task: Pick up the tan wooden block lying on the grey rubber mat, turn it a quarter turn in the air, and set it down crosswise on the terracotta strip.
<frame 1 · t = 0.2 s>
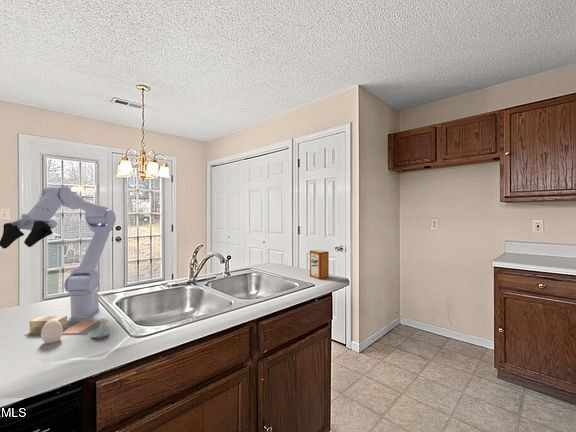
hand: (14, 245, 85), 31 cm above the counter, tool tilted 45°, fingers open, 7 cm apart
pacifier: (98, 339, 93), on the counter
rubber mat: (68, 329, 100), on the counter
tan wooden block: (48, 330, 98), point 1 cm above the counter, touching rubber mat
terracotta strip: (80, 327, 100), resting on rubber mat
egg: (52, 344, 90), on the counter
baking soda box: (319, 277, 173), on the counter
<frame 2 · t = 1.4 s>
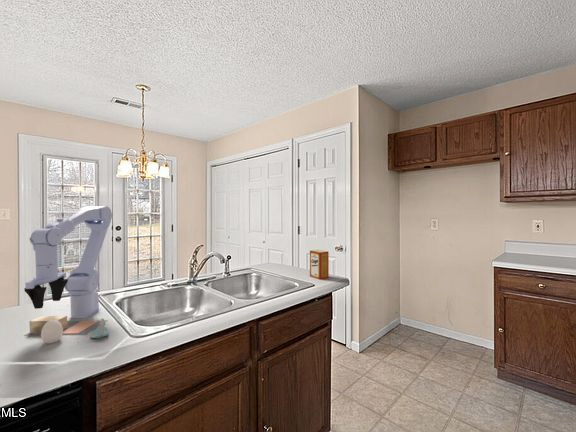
hand: (47, 304, 98), 9 cm above the counter, tool pointing down, fingers open, 7 cm apart
nothing on the counter moved.
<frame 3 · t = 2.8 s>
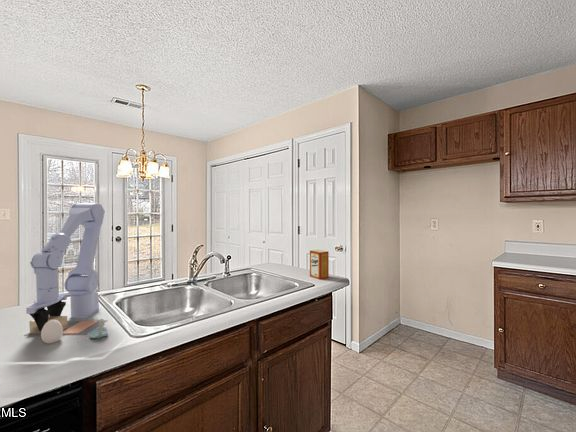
hand: (48, 327, 98), 2 cm above the counter, tool pointing down, fingers closed on tan wooden block, 4 cm apart
tan wooden block: (48, 330, 98), point 1 cm above the counter, touching gripper, rubber mat
everything else where it was.
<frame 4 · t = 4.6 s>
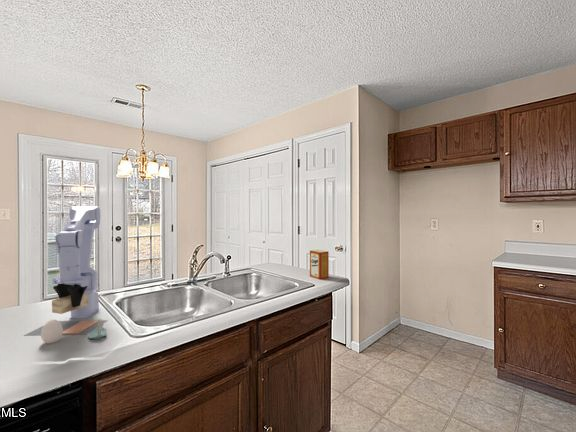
hand: (71, 305, 99), 8 cm above the counter, tool pointing down, fingers closed on tan wooden block, 4 cm apart
tan wooden block: (70, 308, 99), point 7 cm above the counter, touching gripper
everything else where it was.
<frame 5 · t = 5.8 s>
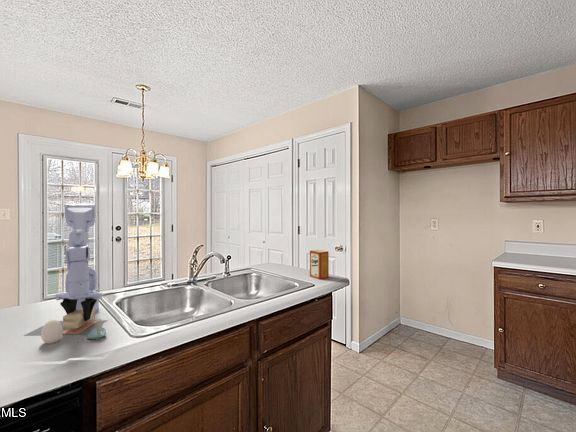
hand: (79, 320, 100), 3 cm above the counter, tool pointing down, fingers closed on tan wooden block, 4 cm apart
tan wooden block: (79, 323, 100), point 2 cm above the counter, touching gripper
everything else where it was.
when the fingers open (3 cm above the counter, at t = 6.7 s): tan wooden block stays where it is, resting on terracotta strip.
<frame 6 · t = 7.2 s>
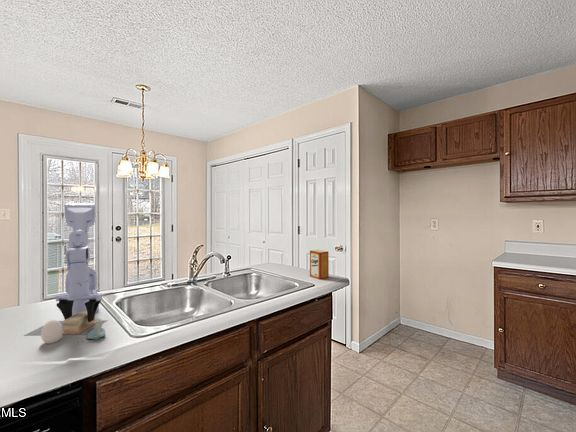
hand: (79, 321, 100), 3 cm above the counter, tool pointing down, fingers open, 7 cm apart
tan wooden block: (79, 326, 100), point 1 cm above the counter, touching terracotta strip
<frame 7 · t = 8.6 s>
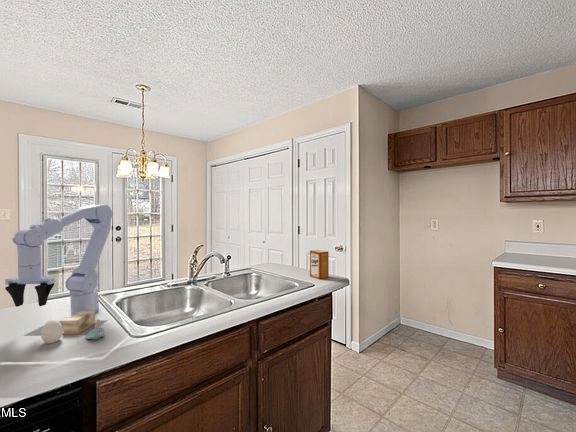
hand: (31, 305, 97), 9 cm above the counter, tool pointing down, fingers open, 7 cm apart
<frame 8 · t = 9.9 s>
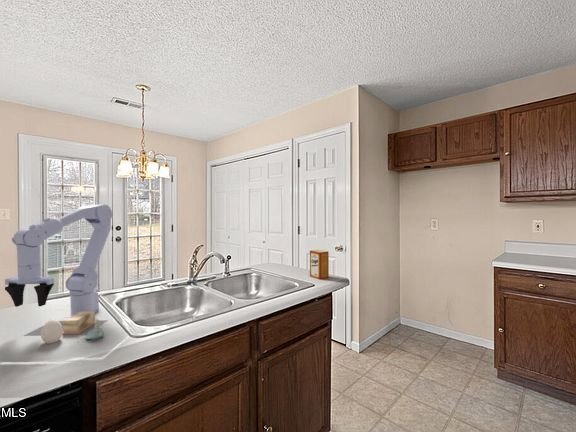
hand: (30, 305, 97), 9 cm above the counter, tool pointing down, fingers open, 7 cm apart
at the end: tan wooden block 0.1 cm off-centre on the terracotta strip, point 0.2 cm above the terracotta strip's base; tan wooden block tilted 0°; the gripper is holding nothing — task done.
